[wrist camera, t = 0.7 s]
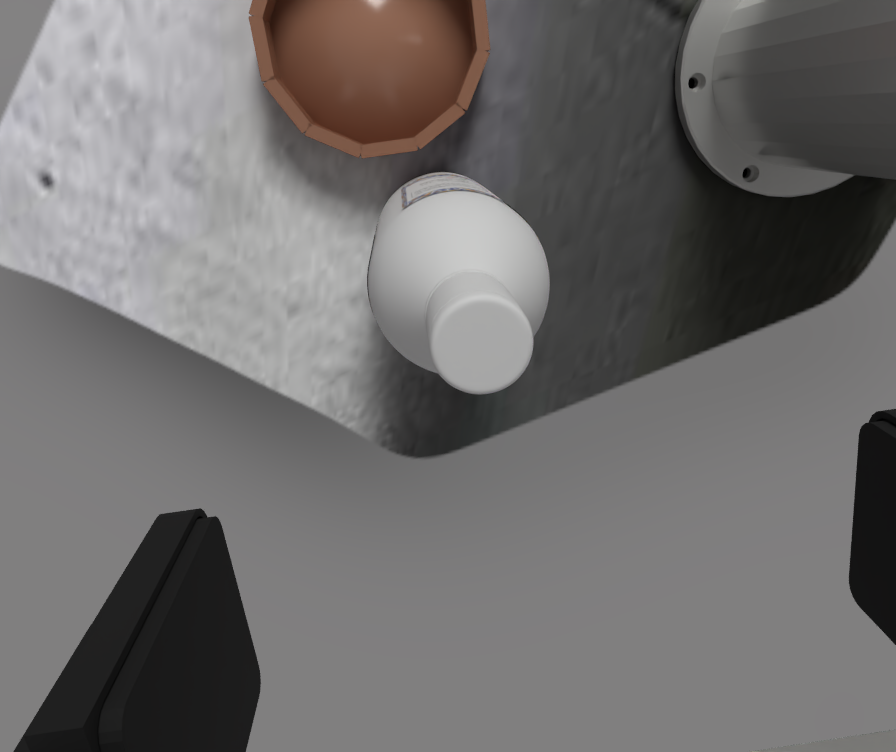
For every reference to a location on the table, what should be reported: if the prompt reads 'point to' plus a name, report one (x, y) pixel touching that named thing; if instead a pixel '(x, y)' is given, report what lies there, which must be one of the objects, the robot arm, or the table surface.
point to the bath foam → (458, 281)
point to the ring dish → (371, 67)
